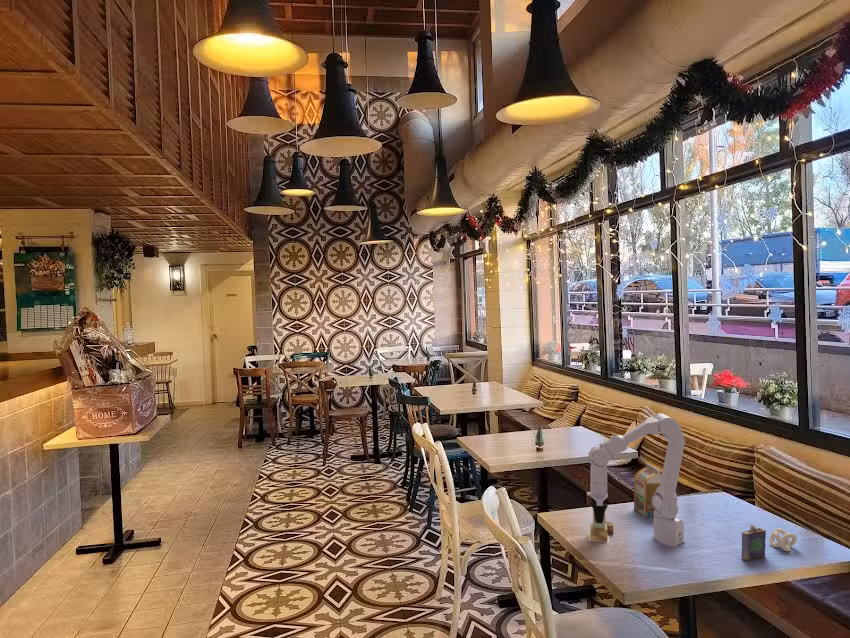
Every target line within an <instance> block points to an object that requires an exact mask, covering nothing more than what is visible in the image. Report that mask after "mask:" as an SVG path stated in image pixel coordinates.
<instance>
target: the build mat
mask: <svg viewBox="0 0 850 638" xmlns="http://www.w3.org/2000/svg"><path fill="white" fill-rule="evenodd" d="M587 534H588V537H587V538H588V541H590V542H591V541H592V542H602V543H610V536H609V535H610V534H607V541H600V540H591V535H590V532H588V533H587Z"/></svg>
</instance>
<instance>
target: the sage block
mask: <svg viewBox="0 0 850 638" xmlns="http://www.w3.org/2000/svg"><path fill="white" fill-rule="evenodd" d="M605 522H606V513H605V514H604V518H603V523H596V520H595V514H594V510H593V509H592V523H593V528H602V529H605Z"/></svg>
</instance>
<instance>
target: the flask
mask: <svg viewBox="0 0 850 638" xmlns="http://www.w3.org/2000/svg"><path fill="white" fill-rule="evenodd" d="M748 527H750V528H749V529H748V530H744V531H742V532H741V560H742V561H744V562H746V561H747V562H751V561H755V560H760V559H765V558H766V533H767V531H766V530H765V529H763V528H761V527H757V528H756V526H755V525H754V524H749V525H748Z"/></svg>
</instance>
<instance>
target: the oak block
mask: <svg viewBox="0 0 850 638" xmlns="http://www.w3.org/2000/svg"><path fill="white" fill-rule="evenodd" d="M589 525H590V528H589V529H590V532H589V533H590V535H591V540H600V541H607V524H605V529H602V528H593V522H590V523H589ZM600 541H599V542H600Z"/></svg>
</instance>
